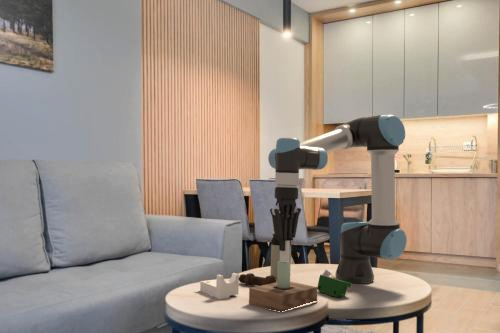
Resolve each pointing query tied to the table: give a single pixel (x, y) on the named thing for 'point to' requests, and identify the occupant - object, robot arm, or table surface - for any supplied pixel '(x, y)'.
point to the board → (282, 296)
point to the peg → (283, 275)
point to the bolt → (256, 279)
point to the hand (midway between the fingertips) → (284, 260)
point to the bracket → (221, 286)
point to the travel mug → (276, 255)
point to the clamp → (332, 286)
